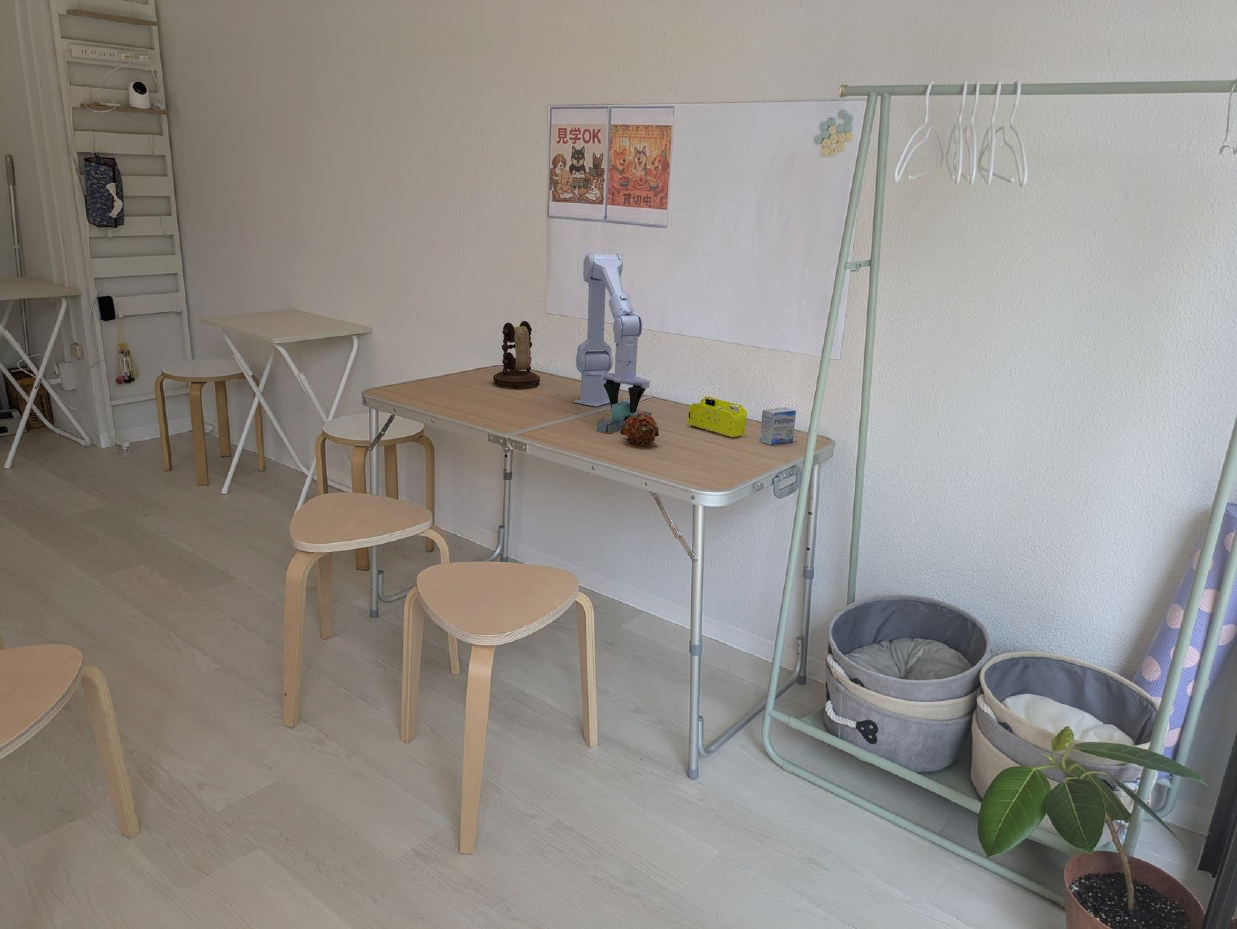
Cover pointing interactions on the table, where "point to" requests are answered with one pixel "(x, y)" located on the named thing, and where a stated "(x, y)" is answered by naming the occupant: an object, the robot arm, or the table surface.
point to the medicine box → (777, 426)
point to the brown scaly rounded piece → (640, 429)
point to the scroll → (517, 357)
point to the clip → (621, 411)
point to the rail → (615, 424)
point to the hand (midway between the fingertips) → (623, 410)
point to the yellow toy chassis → (718, 416)
